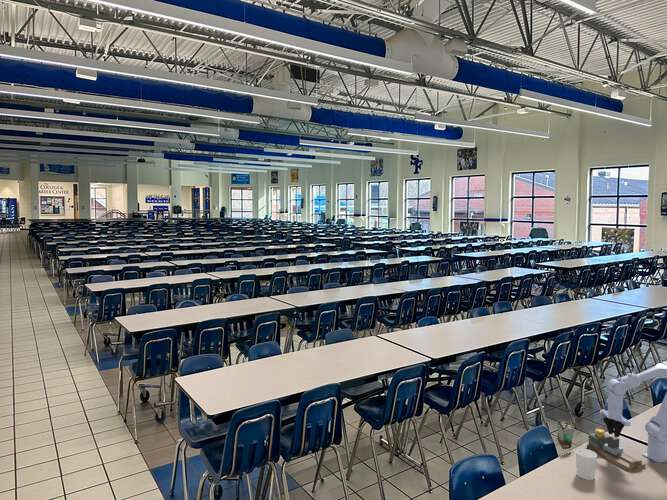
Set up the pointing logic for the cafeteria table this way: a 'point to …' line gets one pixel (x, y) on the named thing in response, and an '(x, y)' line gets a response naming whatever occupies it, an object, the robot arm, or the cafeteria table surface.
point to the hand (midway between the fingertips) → (613, 435)
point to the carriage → (613, 446)
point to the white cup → (586, 463)
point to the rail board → (620, 460)
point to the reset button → (599, 432)
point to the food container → (565, 434)
